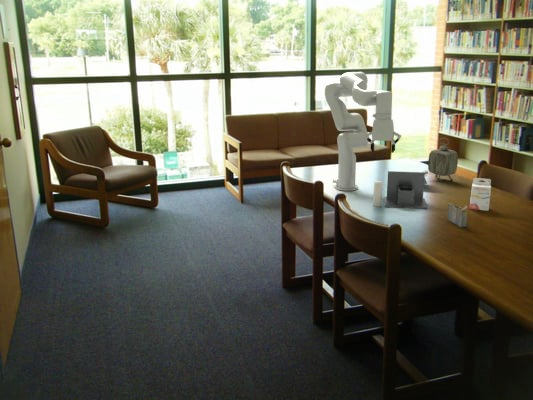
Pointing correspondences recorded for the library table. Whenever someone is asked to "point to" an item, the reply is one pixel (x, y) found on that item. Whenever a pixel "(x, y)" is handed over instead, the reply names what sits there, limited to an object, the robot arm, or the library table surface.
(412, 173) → the cup bracket
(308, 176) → the library table surface
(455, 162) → the tabletop clock
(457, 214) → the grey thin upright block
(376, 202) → the off-white rounded cylinder
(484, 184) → the ink cartridge box
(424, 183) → the wall
